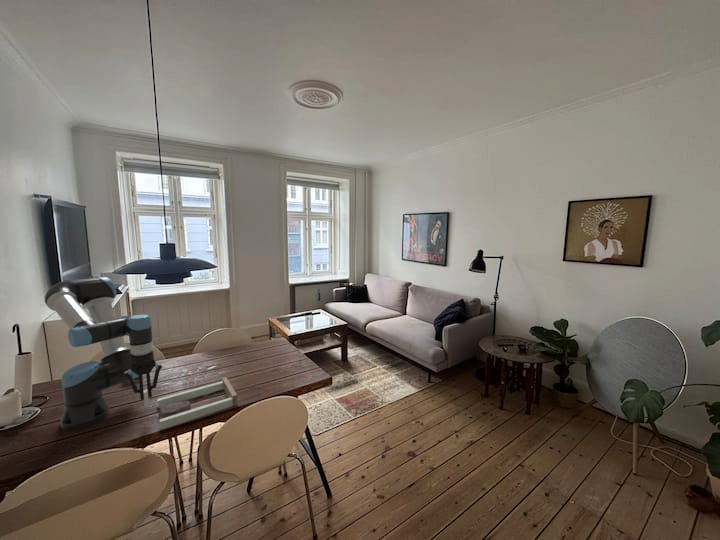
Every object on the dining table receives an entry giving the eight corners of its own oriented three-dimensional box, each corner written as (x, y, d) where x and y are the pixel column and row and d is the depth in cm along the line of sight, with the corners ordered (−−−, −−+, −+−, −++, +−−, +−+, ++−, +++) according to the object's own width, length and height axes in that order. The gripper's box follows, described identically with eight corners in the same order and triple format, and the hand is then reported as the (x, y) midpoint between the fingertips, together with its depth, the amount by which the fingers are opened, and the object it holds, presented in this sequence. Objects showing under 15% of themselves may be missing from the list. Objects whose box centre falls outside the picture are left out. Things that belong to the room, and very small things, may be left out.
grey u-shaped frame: (160, 429, 118) (159, 418, 117) (157, 406, 134) (156, 396, 133) (237, 404, 136) (236, 394, 136) (226, 386, 152) (226, 377, 151)
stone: (188, 404, 136) (188, 395, 135) (193, 414, 129) (192, 404, 128) (158, 414, 128) (157, 405, 127) (161, 425, 121) (160, 415, 120)
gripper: (121, 359, 113) (127, 415, 115) (161, 351, 120) (165, 404, 123) (122, 353, 118) (127, 406, 121) (160, 345, 126) (164, 396, 129)
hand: (146, 405), depth 122 cm, fingers closed
